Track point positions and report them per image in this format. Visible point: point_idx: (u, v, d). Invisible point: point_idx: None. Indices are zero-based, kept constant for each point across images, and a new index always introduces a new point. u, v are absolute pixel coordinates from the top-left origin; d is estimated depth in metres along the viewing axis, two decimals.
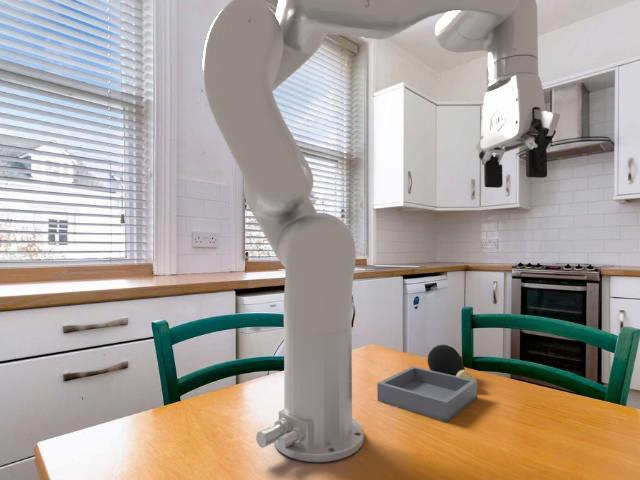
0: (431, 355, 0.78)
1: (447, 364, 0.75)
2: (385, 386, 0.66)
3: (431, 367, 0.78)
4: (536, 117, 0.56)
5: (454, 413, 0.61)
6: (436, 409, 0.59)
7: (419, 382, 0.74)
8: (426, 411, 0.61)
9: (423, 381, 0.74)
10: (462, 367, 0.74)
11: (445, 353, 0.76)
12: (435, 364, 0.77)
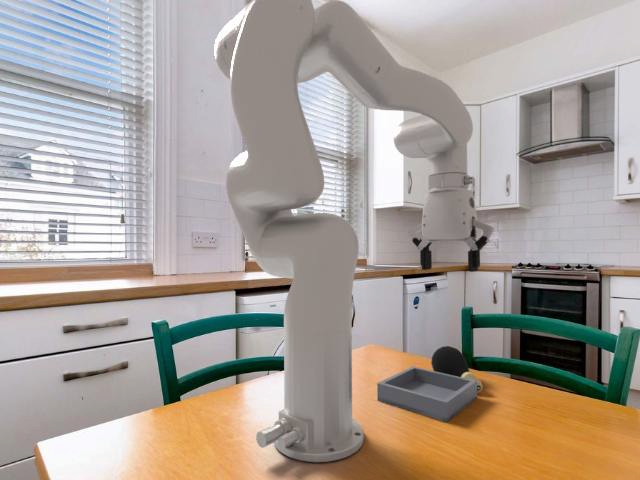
0: (435, 357, 0.77)
1: (451, 366, 0.74)
2: (385, 386, 0.66)
3: (435, 369, 0.77)
4: None
5: (454, 413, 0.61)
6: (436, 409, 0.59)
7: (419, 382, 0.74)
8: (426, 411, 0.61)
9: (423, 381, 0.74)
10: (467, 369, 0.73)
11: (449, 354, 0.75)
12: (439, 365, 0.75)
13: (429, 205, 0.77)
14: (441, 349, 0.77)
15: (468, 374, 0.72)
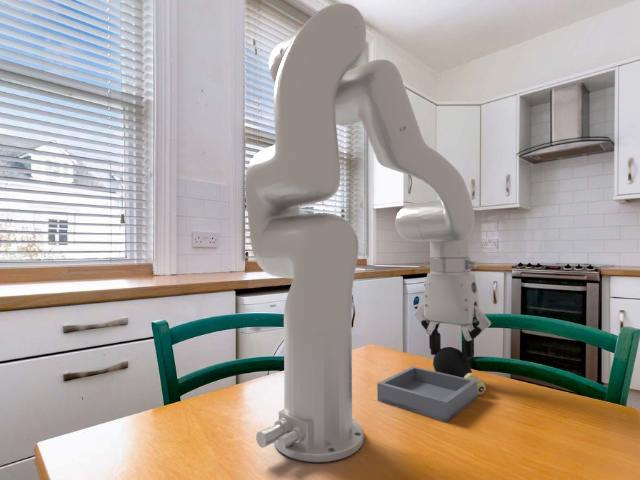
0: (437, 358, 0.76)
1: (454, 367, 0.73)
2: (385, 386, 0.66)
3: (437, 370, 0.76)
4: None
5: (454, 413, 0.61)
6: (436, 409, 0.59)
7: (419, 382, 0.74)
8: (426, 411, 0.61)
9: (423, 381, 0.74)
10: (469, 370, 0.72)
11: (452, 355, 0.74)
12: (441, 366, 0.74)
13: (431, 286, 0.77)
14: (443, 350, 0.76)
15: (471, 375, 0.71)
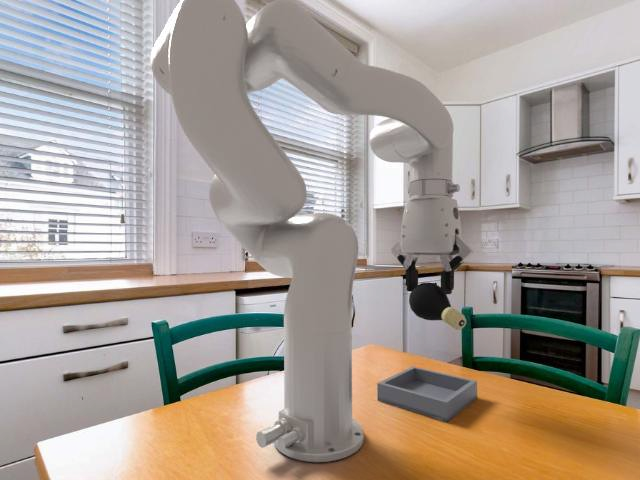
0: (414, 294, 0.68)
1: (432, 302, 0.65)
2: (385, 386, 0.66)
3: (413, 307, 0.68)
4: None
5: (454, 413, 0.61)
6: (436, 409, 0.59)
7: (419, 382, 0.74)
8: (426, 411, 0.61)
9: (423, 381, 0.74)
10: (449, 304, 0.65)
11: (429, 290, 0.67)
12: (418, 302, 0.67)
13: (409, 214, 0.70)
14: (420, 285, 0.69)
15: (450, 309, 0.63)
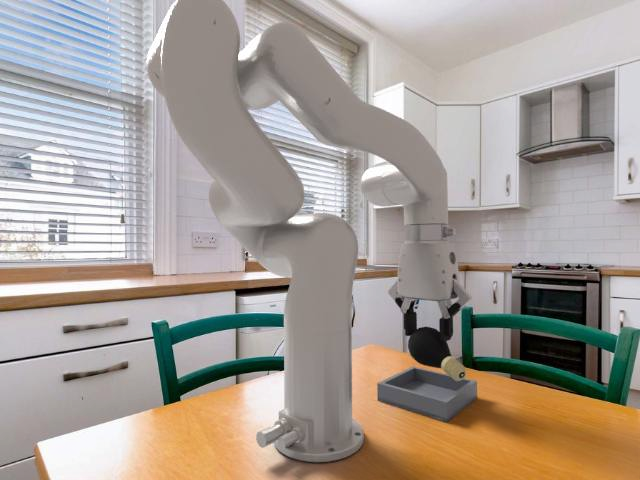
0: (412, 340, 0.67)
1: (431, 350, 0.64)
2: (385, 386, 0.66)
3: (412, 354, 0.67)
4: None
5: (454, 413, 0.61)
6: (436, 409, 0.59)
7: (419, 382, 0.74)
8: (426, 411, 0.61)
9: (423, 381, 0.74)
10: (448, 353, 0.63)
11: (428, 337, 0.65)
12: (417, 350, 0.66)
13: (405, 257, 0.68)
14: (418, 331, 0.67)
15: (450, 359, 0.62)
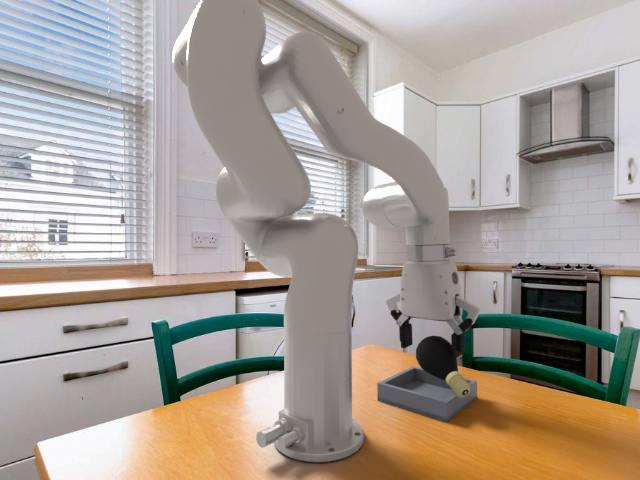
0: (423, 345, 0.66)
1: (440, 360, 0.64)
2: (385, 386, 0.66)
3: (419, 358, 0.66)
4: None
5: (454, 413, 0.61)
6: (436, 409, 0.59)
7: (419, 382, 0.74)
8: (426, 411, 0.61)
9: (423, 381, 0.74)
10: (456, 368, 0.63)
11: (440, 347, 0.65)
12: (426, 356, 0.65)
13: (407, 277, 0.68)
14: (432, 338, 0.67)
15: (457, 374, 0.62)
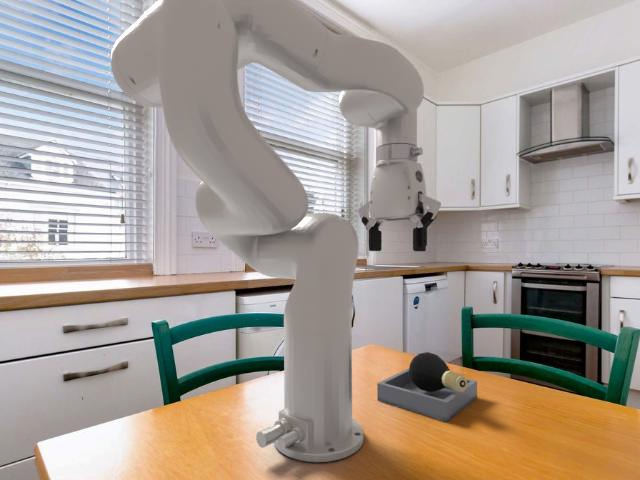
0: (412, 366, 0.68)
1: (430, 369, 0.65)
2: (385, 386, 0.66)
3: (414, 380, 0.67)
4: None
5: (454, 413, 0.61)
6: (436, 409, 0.59)
7: None
8: (426, 411, 0.61)
9: None
10: (447, 369, 0.64)
11: (426, 358, 0.67)
12: (418, 373, 0.66)
13: (376, 180, 0.71)
14: (416, 356, 0.69)
15: (449, 372, 0.63)
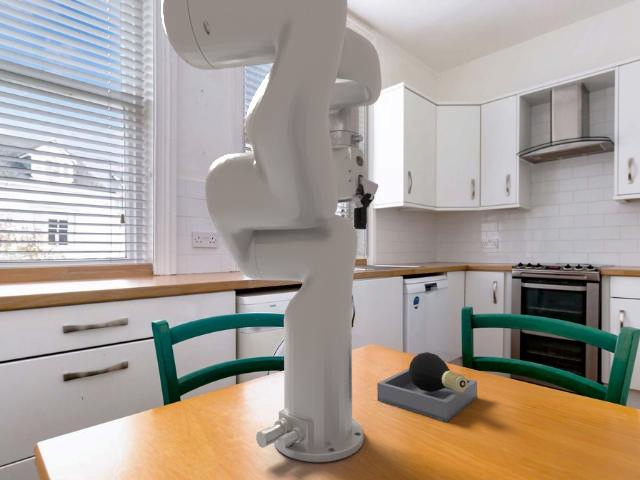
0: (411, 366, 0.68)
1: (430, 369, 0.65)
2: (385, 386, 0.66)
3: (414, 380, 0.67)
4: None
5: (454, 413, 0.61)
6: (436, 409, 0.59)
7: None
8: (426, 411, 0.61)
9: None
10: (447, 369, 0.64)
11: (425, 358, 0.67)
12: (418, 373, 0.66)
13: None
14: (416, 356, 0.69)
15: (449, 372, 0.63)
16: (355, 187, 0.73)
